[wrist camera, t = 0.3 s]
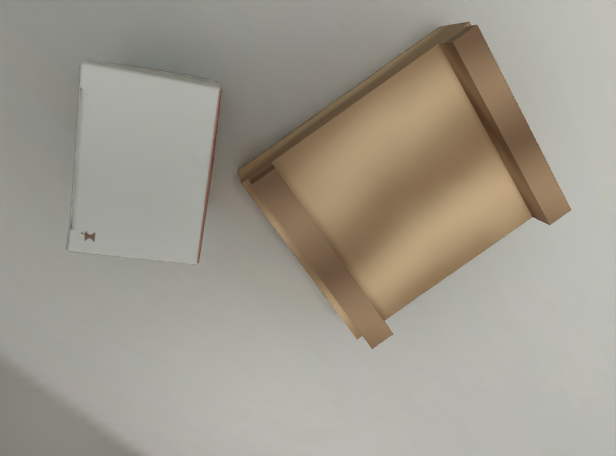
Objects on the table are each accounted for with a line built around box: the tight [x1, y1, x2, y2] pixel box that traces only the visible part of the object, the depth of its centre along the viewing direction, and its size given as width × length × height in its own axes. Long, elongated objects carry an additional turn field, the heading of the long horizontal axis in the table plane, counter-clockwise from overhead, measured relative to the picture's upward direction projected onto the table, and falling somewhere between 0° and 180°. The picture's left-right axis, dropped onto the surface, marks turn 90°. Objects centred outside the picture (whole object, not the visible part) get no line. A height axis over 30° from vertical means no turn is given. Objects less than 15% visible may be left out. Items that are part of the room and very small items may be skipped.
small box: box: [66, 61, 221, 265], centre depth 28 cm, size 8×6×10 cm
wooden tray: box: [238, 22, 571, 349], centre depth 33 cm, size 12×15×6 cm
